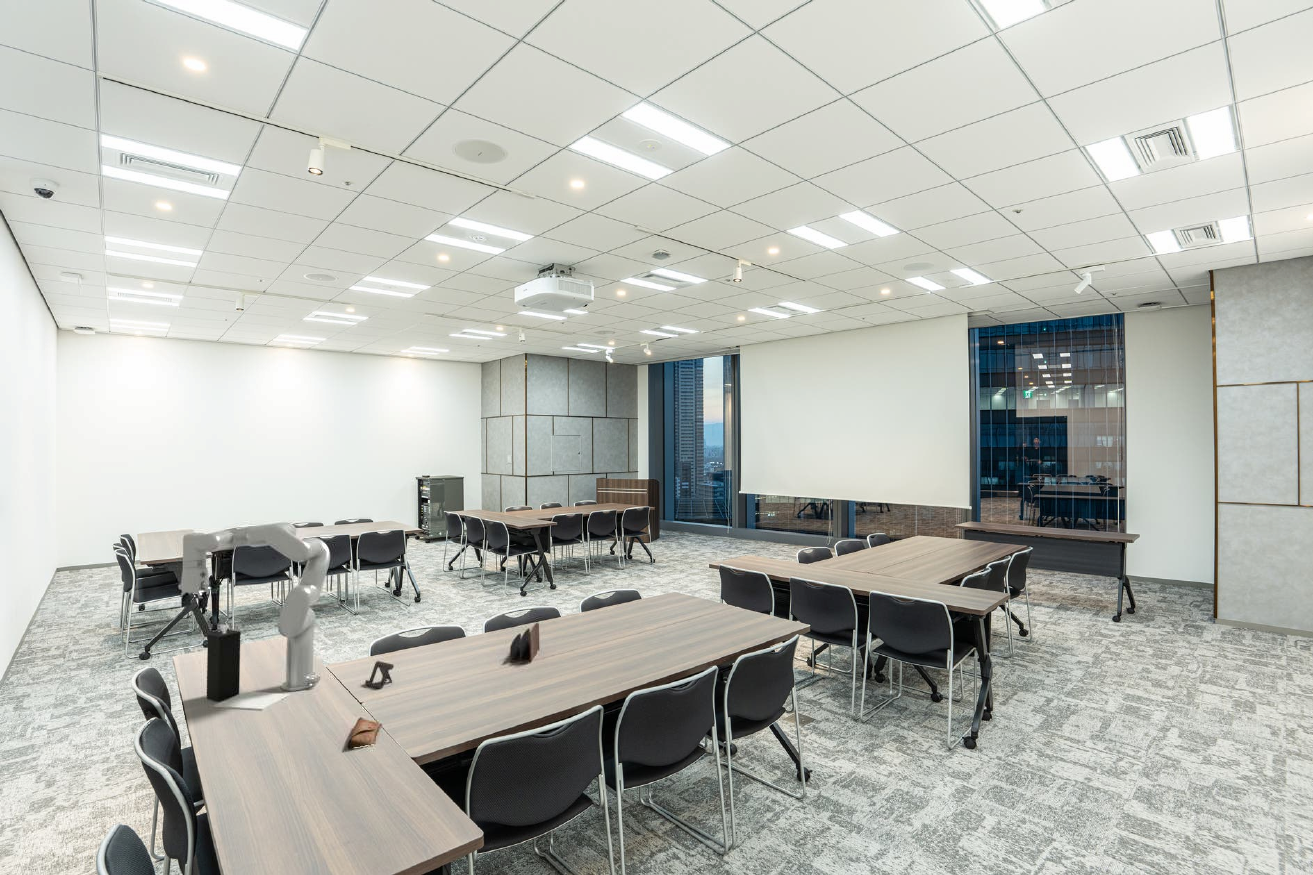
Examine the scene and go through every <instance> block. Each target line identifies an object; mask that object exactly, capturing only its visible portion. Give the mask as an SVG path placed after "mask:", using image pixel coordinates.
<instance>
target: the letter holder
mask: <svg viewBox="0 0 1313 875" xmlns="http://www.w3.org/2000/svg"><path fill="white" fill-rule="evenodd" d="M532 626H533V627H532V628H527V629H526V630H525V631H524V632H523V634H521V633H518V634H517V635H516V636H515V638H514V639H513V640H512V642H511V644H510V648H509V650H510V651H509V663H511V664H512V663H513V664H515V663H517V662H531V661H532V662H533V660H534V659H535V657H536V655H537V654H538V652H539V650H540V648H541V647H540V623H539V622H536V623H535V624H534V625H532ZM537 651H538V652H537ZM534 656H535V657H534ZM533 658H534V659H533ZM532 662H531V663H532Z"/></svg>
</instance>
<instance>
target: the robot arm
mask: <svg viewBox="0 0 1313 875" xmlns="http://www.w3.org/2000/svg"><path fill="white" fill-rule="evenodd" d="M245 546H247V547H248V546H249V547H251V548H252V547H253V548H258V547H264V546H266V547H267V546H270V548H273V549H274V550H275V551H276V552H278V553H280V554H281V555H283V556H284V557H286V558H288V559H289V560H291V561H293V562H295V563H302V562H306V561H307V562H306V565H305V567H304V569H303V572H302V575H301V579H300V581H299V583H298V585H297V586H295V587H293V588H292V589H291V590H289V592H288V593H287V594H286V596H285V599H284V603H283V606H282V608H281V610H280V614H279V617H278V620H277V621H278V622H277V631H278V633H279V634H280V635H281V636H282V637H284V638H286V653H285V654H286V657H285V658H286V660H285V662H286V663H285V664H286V665H285V682H282V684H281V685H280V686H281V690H283V691H288V692H291V691H293V692H294V691H302V690H305V689H309V688H311V687H314V686H315V685H317V684H318V683H319V682H320V680H321V676H317V675H316V672H314V636H315V627H316V621H317V619H316V618H317V617H316V613H315V611H314V610H313V609H312V608H311V606H313V605H314V604H315V603H316V602H318V600H319V599H320V597H321V593H322V589H323V586H324V584H325V579H326V576H327V572H328V570H329V566H330V562H331V552H330V549H329V547H328V545H327V544H326V543H325V542H324V541H323V540H321V539H320V538H319V537H318V538H317V537H307V538H303V539H300V537H297V528H296V527H295V525H294V524H293V523H291V522H285V521H284V522H275V523H270V524H269V523H268V524H260V525H252V526H247V527H241V528H240V527H239V528H234V529H233V528H231V529H224V530H223V529H222V530H219V531H218V530H217V531H215V532H209V533H203V532H191V533H186V534H184V536H183V538H182V572H181V573H182V574H181V580H180V582H181V583H179V584H178V585H177V587H178V589H179V591H178V592H179V594H180V598H181V600H180V603H181V605H180V607H181V608H183V607H184V608H185V607H188V606H189V607H190V606H191V598H192V597H191V594H194V595H195V594H197V596H198V598H197V608H198V610H200V609H205V608H207V607H208V598H209V595H210V592H211V590H212V587H211V586H210V580H209V579H210V578H209V570H208V567H207V553H213V552H218V551H221V550H225V549H229V548H237V547H245Z"/></svg>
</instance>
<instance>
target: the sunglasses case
mask: <svg viewBox="0 0 1313 875" xmlns="http://www.w3.org/2000/svg"><path fill="white" fill-rule="evenodd" d="M382 725H383V723H382V722H381V723H380V722H375V721H372V720H369V719H365V718H364V717H359V718H358V719H357V720H356V722H355V725H354V727H353V728H352V731H351V734H350V736H349V739H348V742H347V746H346V747H347V750H349V749H351V748H354V747H360V746H365V745H371V744H374V742H375V743H376V739H377V737H376V736H378V734H379V731H380V728H381V727H382ZM377 733H378V734H377ZM351 750H352V749H351Z"/></svg>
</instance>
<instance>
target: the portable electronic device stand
mask: <svg viewBox="0 0 1313 875" xmlns="http://www.w3.org/2000/svg"><path fill="white" fill-rule="evenodd" d="M378 669H379V671H380V673H381V676H382V678H381V680H380V682H379V683H378V682H374V679H375V678H376V677H375V676H376V674H377V671H378ZM393 669H394V664H391V663H390V662H389V663H388V662H385V661H380V660H376V661H375V664H374V665H373V669H372V672H371V676H370V678H369V680H367V679H366V680H365V682H364V684H365V685H366V686H368V687H372V688H376V689H380V690H381V689H383V688H384V685H385V682H388V681H389V683H393V681H392V677H391V675H390V672H389V671H390V670H393Z"/></svg>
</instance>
